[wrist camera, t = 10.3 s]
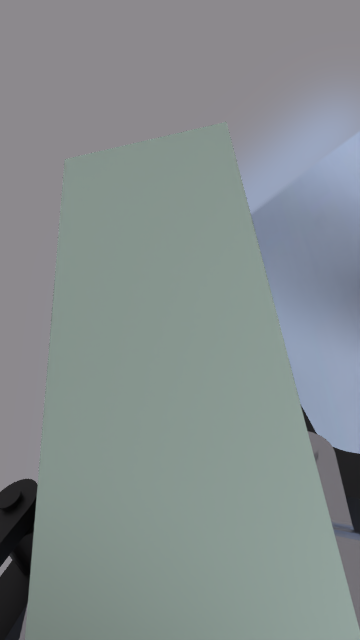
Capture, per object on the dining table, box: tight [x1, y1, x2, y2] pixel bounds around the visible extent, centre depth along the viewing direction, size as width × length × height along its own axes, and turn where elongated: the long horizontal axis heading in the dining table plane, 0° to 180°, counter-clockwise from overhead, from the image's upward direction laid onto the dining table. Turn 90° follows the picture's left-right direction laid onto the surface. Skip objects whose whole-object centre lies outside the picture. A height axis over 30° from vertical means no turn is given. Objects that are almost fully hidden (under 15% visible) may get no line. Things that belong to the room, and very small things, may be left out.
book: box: [25, 122, 360, 640], centre depth 12 cm, size 4×10×15 cm, turn 6°
